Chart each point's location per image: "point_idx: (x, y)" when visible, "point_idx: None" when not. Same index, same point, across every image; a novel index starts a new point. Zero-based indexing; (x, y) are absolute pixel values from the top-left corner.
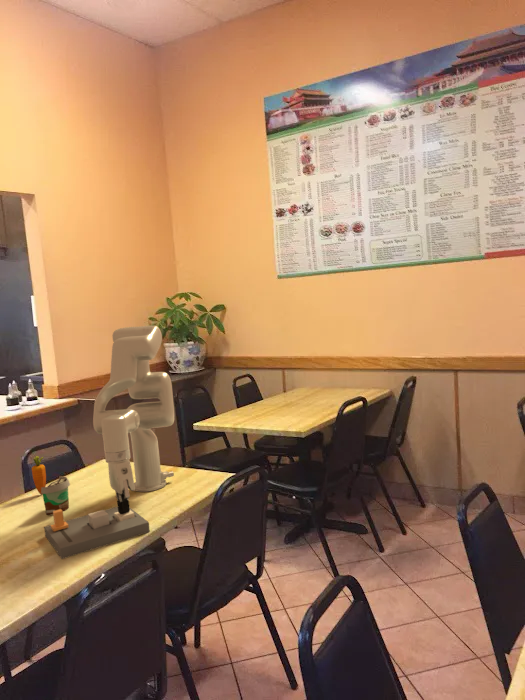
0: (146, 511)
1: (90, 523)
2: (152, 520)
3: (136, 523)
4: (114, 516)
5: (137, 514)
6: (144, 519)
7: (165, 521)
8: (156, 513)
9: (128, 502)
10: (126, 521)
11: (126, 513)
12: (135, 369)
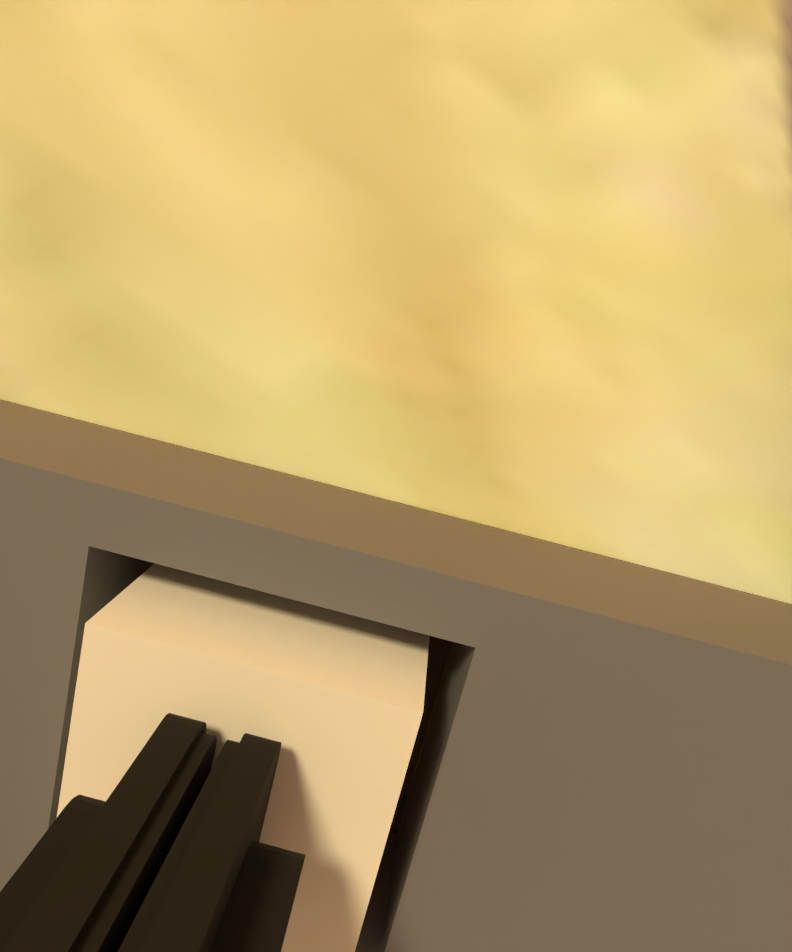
0: (26, 81)
1: None
2: (504, 294)
3: (774, 863)
4: (56, 817)
5: (389, 579)
6: (763, 668)
7: (779, 177)
8: (281, 21)
9: (213, 921)
10: (501, 887)
11: (298, 810)
12: None
